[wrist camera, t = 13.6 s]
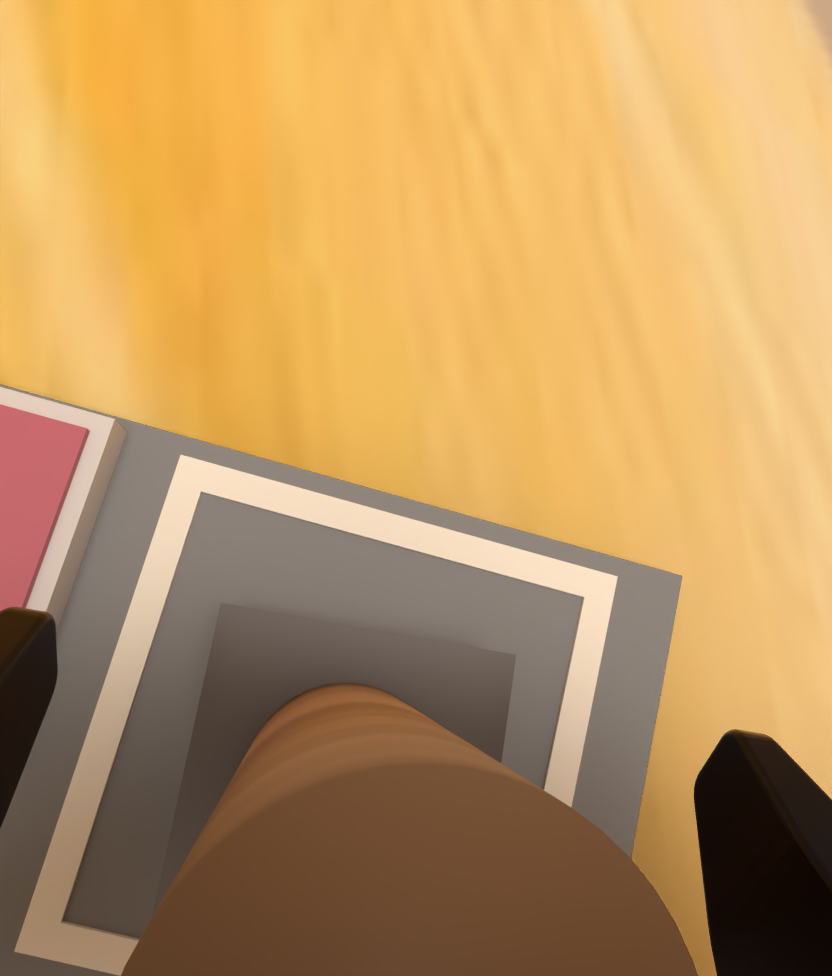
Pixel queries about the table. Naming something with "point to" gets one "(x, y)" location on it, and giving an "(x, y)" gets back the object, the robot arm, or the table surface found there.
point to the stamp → (380, 824)
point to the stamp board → (278, 588)
